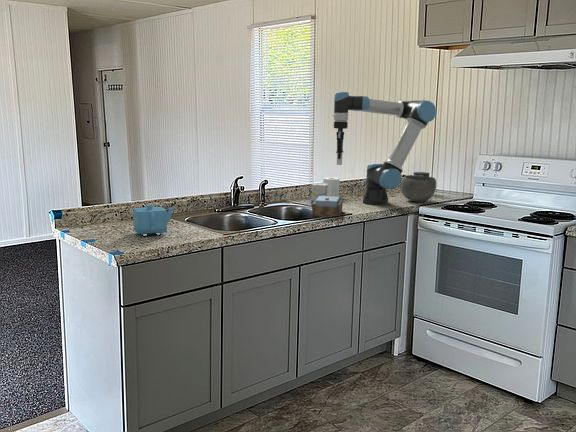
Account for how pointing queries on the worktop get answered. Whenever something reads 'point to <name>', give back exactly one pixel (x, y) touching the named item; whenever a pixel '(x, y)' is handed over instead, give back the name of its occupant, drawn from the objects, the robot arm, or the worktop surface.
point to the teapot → (151, 219)
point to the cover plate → (327, 201)
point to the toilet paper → (332, 186)
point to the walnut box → (326, 210)
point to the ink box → (318, 191)
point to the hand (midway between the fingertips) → (339, 164)
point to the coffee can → (421, 174)
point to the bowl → (418, 187)
